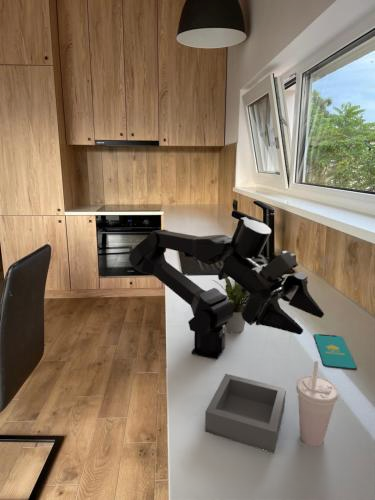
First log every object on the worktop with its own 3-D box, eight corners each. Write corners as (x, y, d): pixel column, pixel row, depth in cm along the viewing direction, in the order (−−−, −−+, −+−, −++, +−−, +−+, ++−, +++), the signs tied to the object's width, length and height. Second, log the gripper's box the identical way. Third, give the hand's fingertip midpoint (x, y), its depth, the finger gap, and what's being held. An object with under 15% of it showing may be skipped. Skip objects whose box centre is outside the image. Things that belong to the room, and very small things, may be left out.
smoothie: (300, 418, 62) (307, 347, 58) (337, 435, 58) (347, 361, 55) (285, 439, 57) (292, 364, 54) (324, 460, 53) (334, 380, 50)
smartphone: (323, 364, 78) (313, 332, 92) (323, 367, 78) (312, 335, 92) (358, 368, 76) (342, 335, 90) (357, 372, 76) (341, 338, 91)
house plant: (273, 326, 97) (277, 270, 93) (253, 347, 86) (256, 285, 81) (228, 313, 104) (229, 261, 100) (203, 331, 93) (204, 274, 89)
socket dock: (205, 431, 59) (205, 411, 58) (225, 391, 69) (225, 373, 68) (274, 453, 54) (276, 432, 53) (284, 406, 65) (286, 388, 64)
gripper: (237, 251, 61) (312, 306, 53) (287, 235, 74) (353, 278, 67) (216, 298, 67) (281, 354, 59) (266, 275, 80) (324, 319, 72)
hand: (313, 323), depth 64 cm, fingers open, 9 cm apart
